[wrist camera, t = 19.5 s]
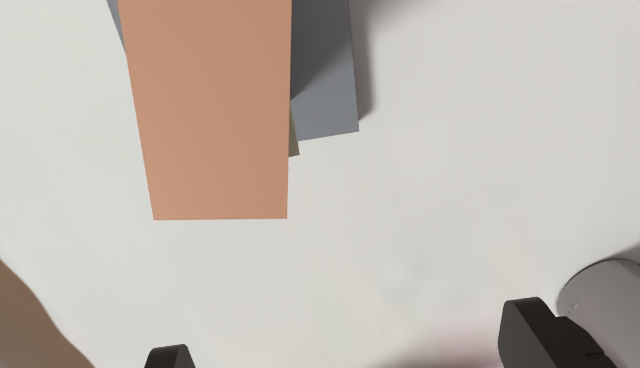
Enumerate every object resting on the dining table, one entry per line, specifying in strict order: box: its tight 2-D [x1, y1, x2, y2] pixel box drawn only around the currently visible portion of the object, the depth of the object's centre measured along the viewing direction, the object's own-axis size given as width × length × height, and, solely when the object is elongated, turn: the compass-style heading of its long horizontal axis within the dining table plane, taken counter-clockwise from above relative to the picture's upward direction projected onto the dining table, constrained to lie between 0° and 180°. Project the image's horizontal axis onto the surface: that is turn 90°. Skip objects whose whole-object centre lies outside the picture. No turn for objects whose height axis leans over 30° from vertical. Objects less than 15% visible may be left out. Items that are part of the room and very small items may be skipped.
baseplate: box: [107, 0, 359, 141], centre depth 26 cm, size 14×14×2 cm
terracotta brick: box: [117, 0, 292, 220], centre depth 16 cm, size 5×8×4 cm, turn 176°
